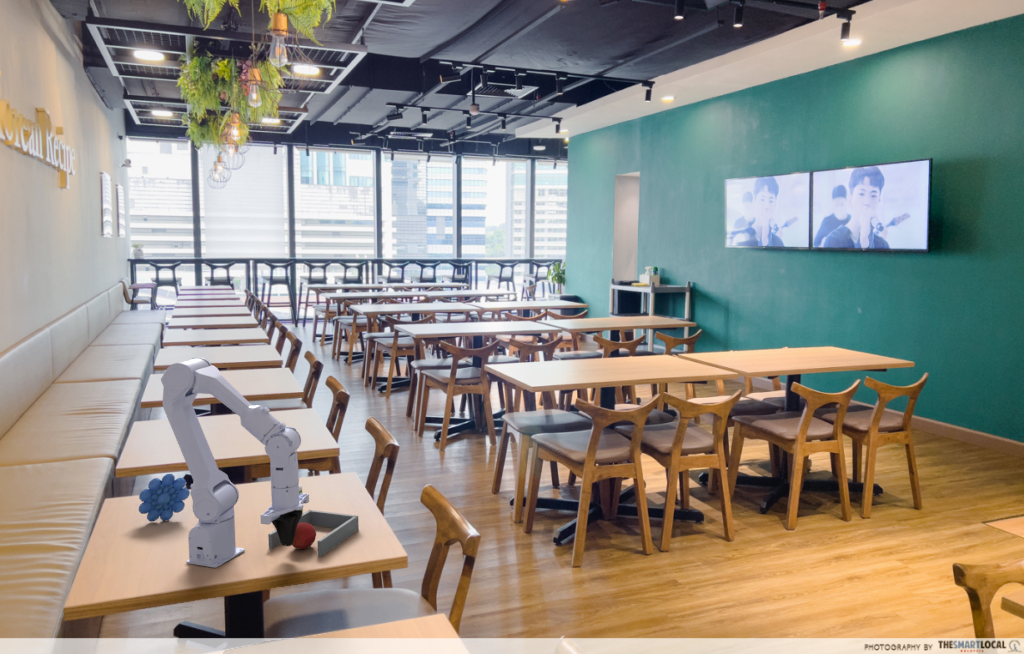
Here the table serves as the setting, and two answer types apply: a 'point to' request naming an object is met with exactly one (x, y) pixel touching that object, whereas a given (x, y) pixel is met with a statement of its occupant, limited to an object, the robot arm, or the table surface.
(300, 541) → the onion
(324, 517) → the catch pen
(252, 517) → the table surface
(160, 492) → the blue flower
